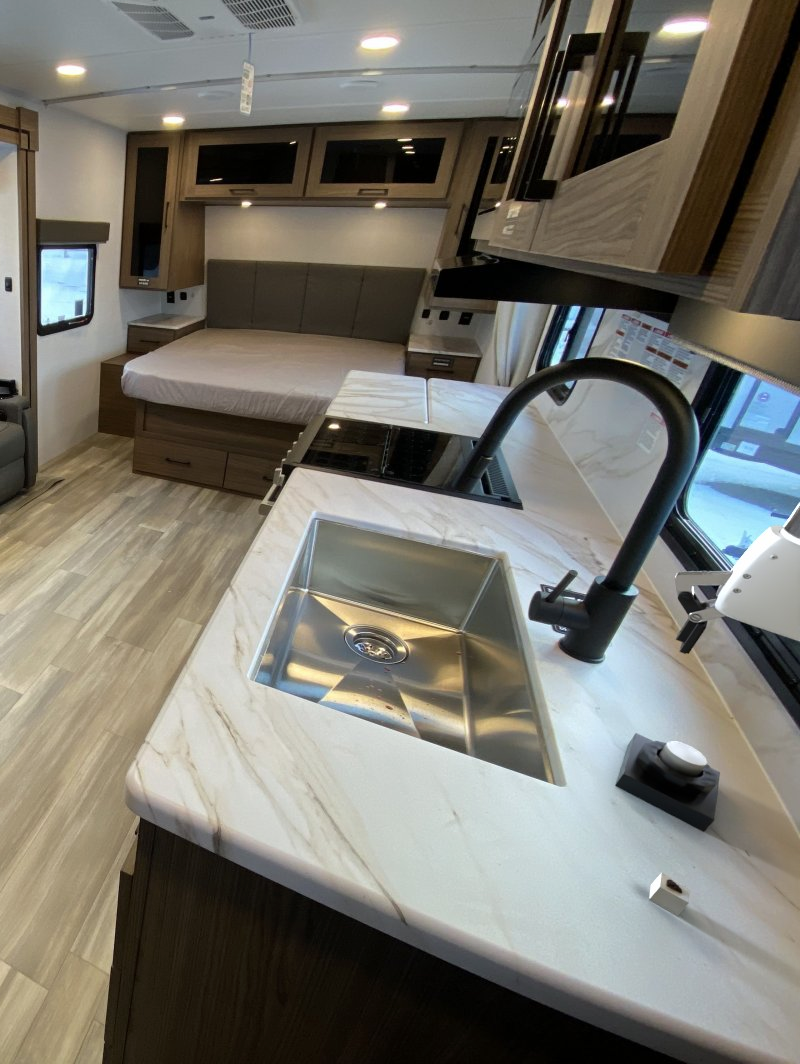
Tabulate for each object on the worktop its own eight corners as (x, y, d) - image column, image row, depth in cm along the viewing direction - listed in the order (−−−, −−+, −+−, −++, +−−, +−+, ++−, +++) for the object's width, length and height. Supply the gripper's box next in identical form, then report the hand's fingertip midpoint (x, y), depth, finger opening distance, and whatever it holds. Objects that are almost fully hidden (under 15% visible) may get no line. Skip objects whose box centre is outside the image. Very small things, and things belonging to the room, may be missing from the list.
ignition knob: (660, 747, 71) (668, 736, 70) (699, 766, 69) (709, 754, 68) (656, 763, 69) (665, 751, 68) (697, 783, 67) (706, 770, 66)
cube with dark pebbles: (648, 900, 58) (660, 885, 57) (650, 885, 59) (662, 870, 58) (677, 916, 57) (690, 901, 56) (678, 901, 58) (691, 886, 57)
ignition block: (627, 744, 76) (642, 722, 75) (710, 784, 71) (728, 761, 69) (614, 786, 70) (630, 763, 68) (704, 832, 65) (723, 809, 63)
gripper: (991, 557, 51) (863, 699, 59) (722, 494, 63) (645, 620, 71) (1010, 586, 47) (870, 736, 55) (717, 512, 58) (636, 645, 66)
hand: (743, 670), depth 63 cm, fingers open, 9 cm apart
